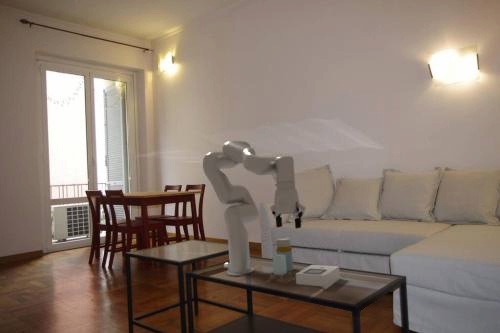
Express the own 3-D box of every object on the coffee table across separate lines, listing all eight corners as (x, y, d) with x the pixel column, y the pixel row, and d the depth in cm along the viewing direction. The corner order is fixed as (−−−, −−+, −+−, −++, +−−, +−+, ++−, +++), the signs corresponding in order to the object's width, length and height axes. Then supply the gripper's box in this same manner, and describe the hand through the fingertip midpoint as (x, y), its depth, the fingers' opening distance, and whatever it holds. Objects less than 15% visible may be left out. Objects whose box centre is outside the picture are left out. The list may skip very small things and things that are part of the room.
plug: (274, 280, 160) (272, 256, 160) (278, 278, 163) (277, 254, 164) (282, 281, 158) (281, 256, 158) (287, 278, 161) (285, 254, 162)
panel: (296, 286, 152) (295, 273, 153) (312, 276, 166) (311, 264, 166) (325, 289, 146) (324, 275, 146) (340, 278, 160) (339, 265, 160)
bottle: (292, 273, 173) (290, 240, 174) (276, 274, 175) (274, 240, 175) (293, 270, 180) (291, 237, 181) (278, 270, 181) (276, 238, 182)
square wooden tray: (265, 283, 160) (265, 275, 160) (274, 278, 167) (274, 270, 167) (287, 285, 155) (286, 276, 155) (296, 280, 161) (295, 272, 161)
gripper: (264, 187, 164) (266, 227, 164) (297, 185, 153) (300, 229, 152) (275, 186, 170) (277, 225, 169) (308, 184, 158) (311, 227, 158)
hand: (288, 227), depth 161 cm, fingers open, 9 cm apart
